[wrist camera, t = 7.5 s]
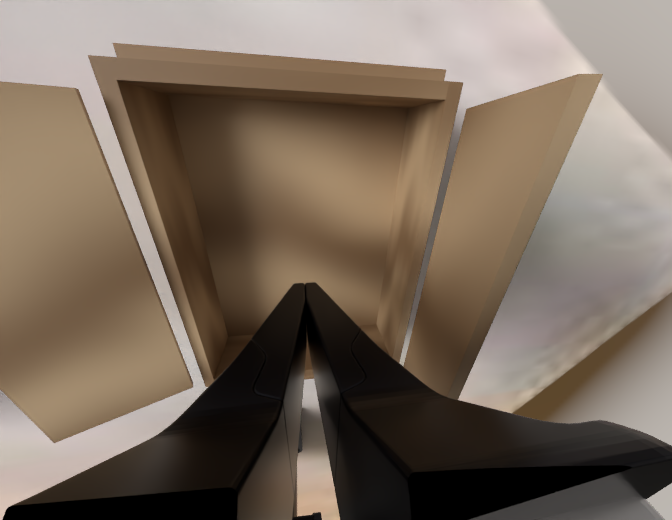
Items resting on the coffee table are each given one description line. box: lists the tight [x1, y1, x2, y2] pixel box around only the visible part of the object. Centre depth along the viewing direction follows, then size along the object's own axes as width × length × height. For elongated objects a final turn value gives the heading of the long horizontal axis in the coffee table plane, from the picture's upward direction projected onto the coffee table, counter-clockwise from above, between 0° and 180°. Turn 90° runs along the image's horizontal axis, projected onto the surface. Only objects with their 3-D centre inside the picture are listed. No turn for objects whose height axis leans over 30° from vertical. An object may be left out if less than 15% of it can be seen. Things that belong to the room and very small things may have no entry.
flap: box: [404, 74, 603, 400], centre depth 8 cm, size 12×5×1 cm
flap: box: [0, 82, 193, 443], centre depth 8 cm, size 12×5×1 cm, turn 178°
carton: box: [88, 43, 463, 387], centre depth 12 cm, size 15×11×4 cm
